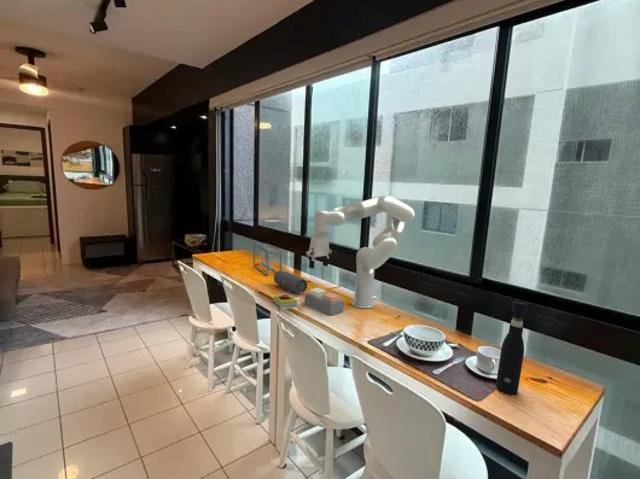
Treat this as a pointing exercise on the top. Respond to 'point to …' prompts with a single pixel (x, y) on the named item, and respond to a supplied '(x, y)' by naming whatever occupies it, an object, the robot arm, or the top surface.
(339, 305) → the key box
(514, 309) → the black water bottle
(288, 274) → the bluetooth speaker
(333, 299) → the key terracotta
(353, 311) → the top surface
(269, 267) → the newton's cradle
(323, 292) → the key white
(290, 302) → the emergency button
